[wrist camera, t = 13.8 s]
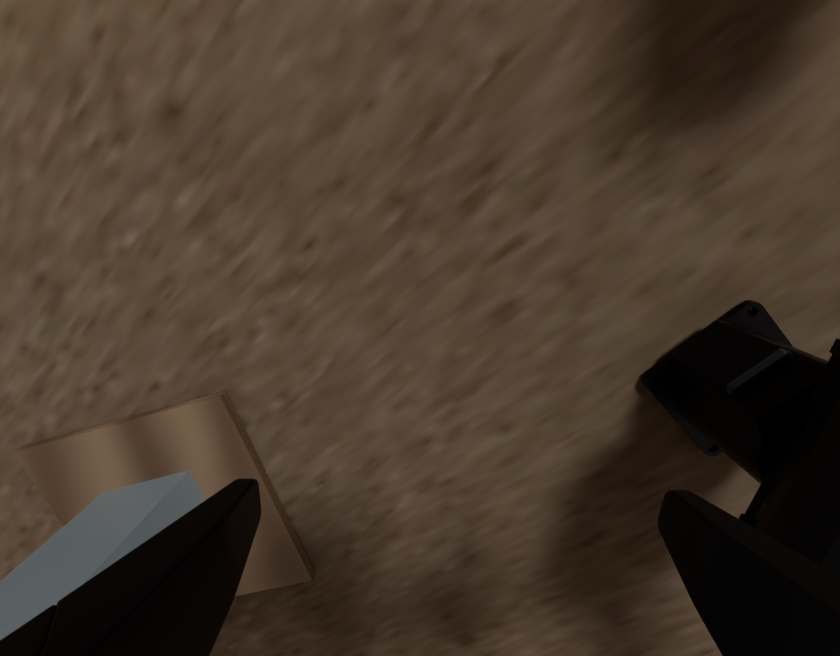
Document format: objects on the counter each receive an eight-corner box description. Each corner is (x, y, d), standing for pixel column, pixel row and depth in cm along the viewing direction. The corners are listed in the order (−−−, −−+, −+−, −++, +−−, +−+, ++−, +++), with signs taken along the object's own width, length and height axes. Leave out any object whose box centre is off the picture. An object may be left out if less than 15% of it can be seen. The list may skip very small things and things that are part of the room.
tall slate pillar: (188, 470, 23) (-48, 723, 12) (232, 546, 25) (61, 832, 14) (103, 492, 24) (-195, 750, 13) (150, 564, 26) (-76, 850, 14)
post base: (225, 390, 22) (167, 442, 18) (315, 572, 26) (287, 656, 21) (22, 446, 24) (-83, 507, 19) (134, 609, 28) (71, 694, 23)
